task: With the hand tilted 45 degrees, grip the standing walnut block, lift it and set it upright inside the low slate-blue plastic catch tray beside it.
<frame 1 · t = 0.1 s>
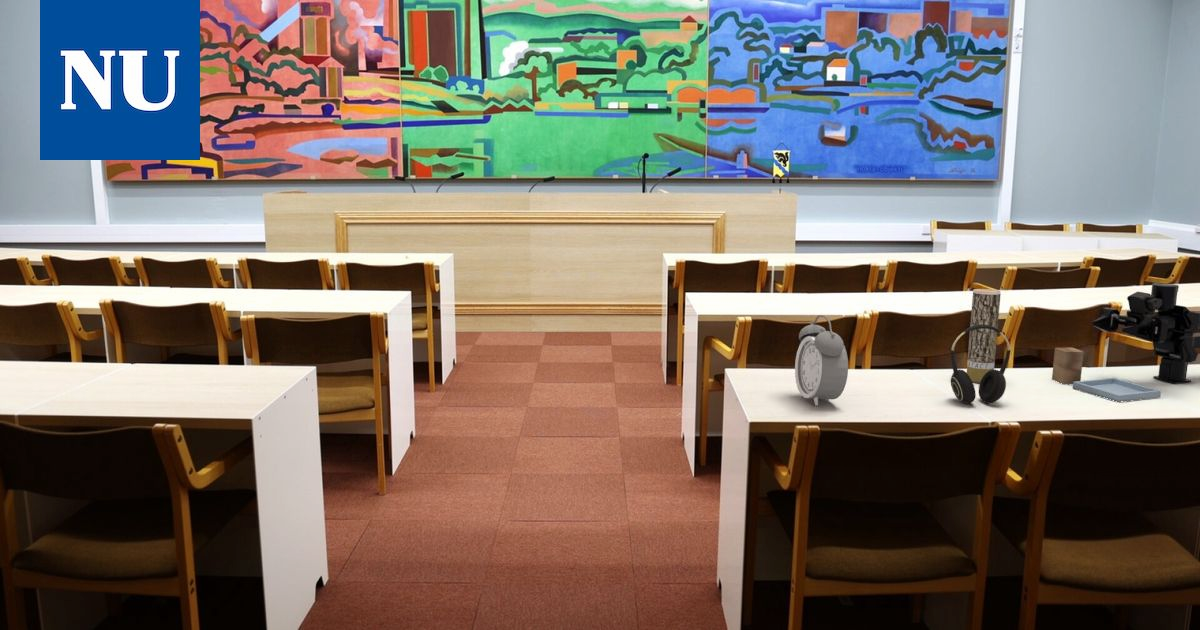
hand: (1107, 326, 229), 17 cm above the table, tool horizontal, fingers open, 9 cm apart
alarm clock: (819, 402, 219), on the table
headphones: (976, 403, 218), on the table
catch tray: (1115, 392, 227), on the table
paper tube: (979, 381, 239), on the table
walnut block: (1065, 381, 238), on the table
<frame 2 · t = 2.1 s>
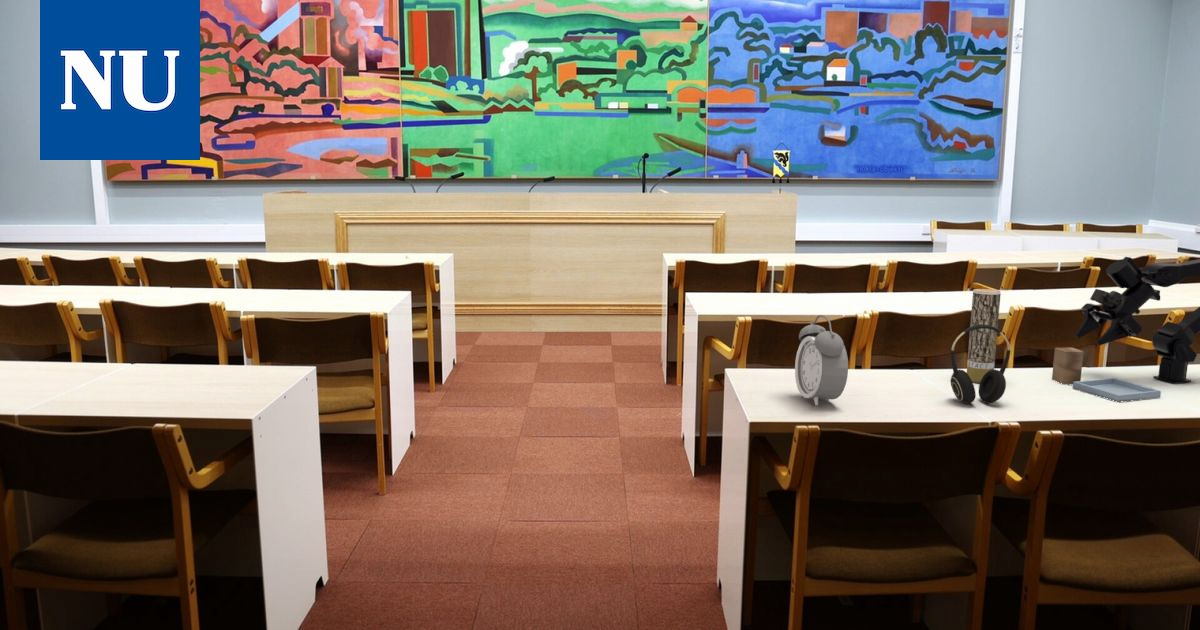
hand: (1087, 340, 237), 11 cm above the table, tool tilted 45°, fingers open, 9 cm apart
nothing on the table moved.
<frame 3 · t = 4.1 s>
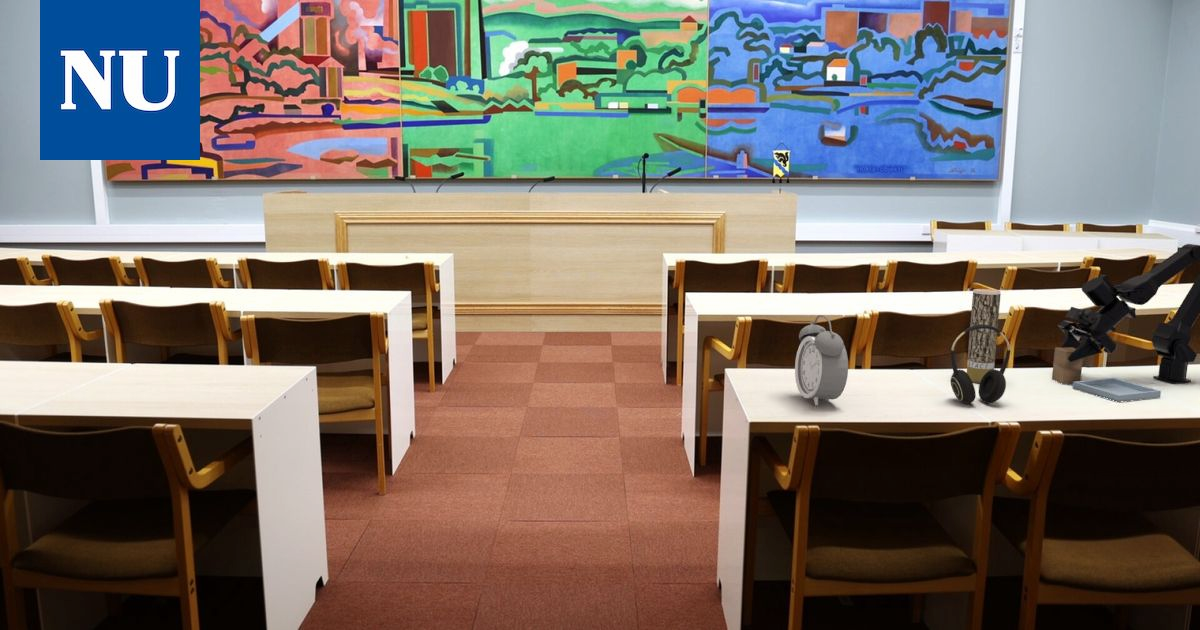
hand: (1063, 358, 237), 7 cm above the table, tool tilted 45°, fingers closed on walnut block, 5 cm apart
walnut block: (1065, 381, 238), on the table, touching gripper
everything else where it was.
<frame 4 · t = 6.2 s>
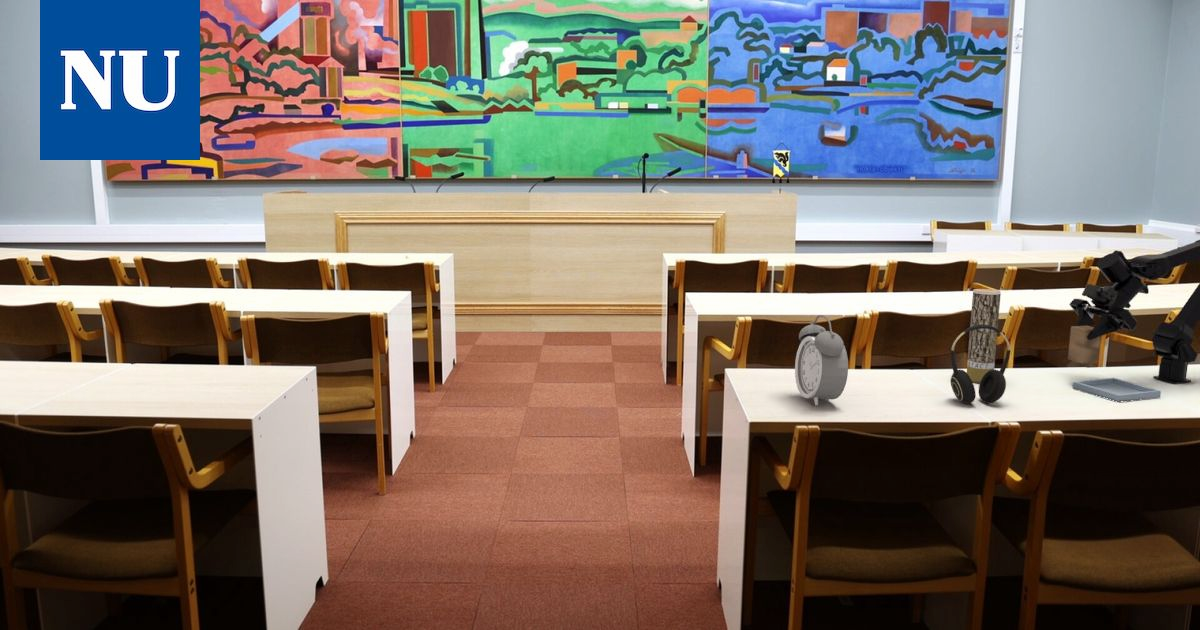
hand: (1080, 336, 232), 13 cm above the table, tool tilted 45°, fingers closed on walnut block, 5 cm apart
walnut block: (1082, 360, 233), point 7 cm above the table, touching gripper
everything else where it was.
when the fingers open (8 cm above the table, at t = 8.6 s): walnut block drops 1 cm, resting on catch tray.
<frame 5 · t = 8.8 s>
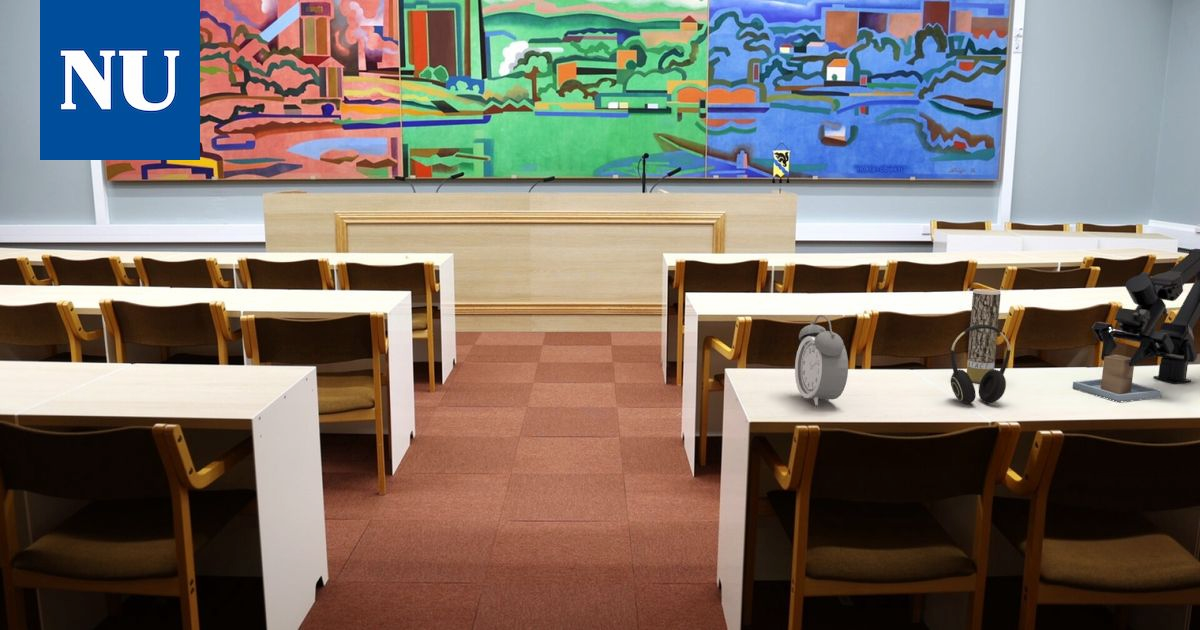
hand: (1115, 362, 225), 8 cm above the table, tool tilted 45°, fingers open, 7 cm apart
walnut block: (1115, 391, 227), resting on catch tray
everything else where it was.
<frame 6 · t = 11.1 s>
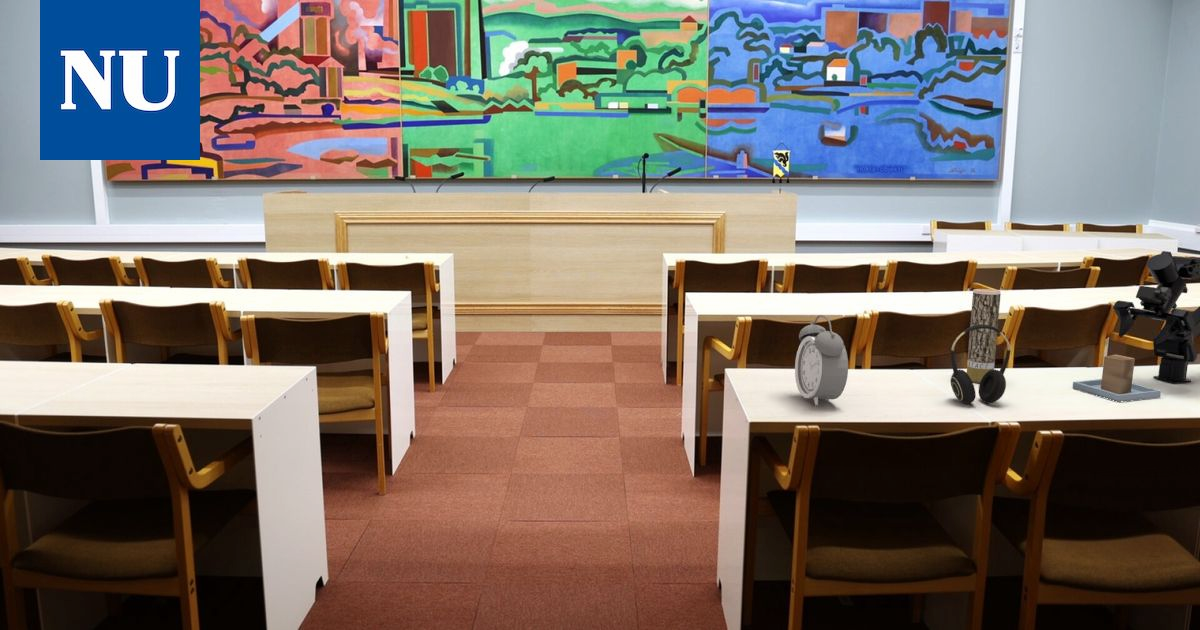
hand: (1137, 339, 228), 13 cm above the table, tool tilted 45°, fingers open, 9 cm apart
nothing on the table moved.
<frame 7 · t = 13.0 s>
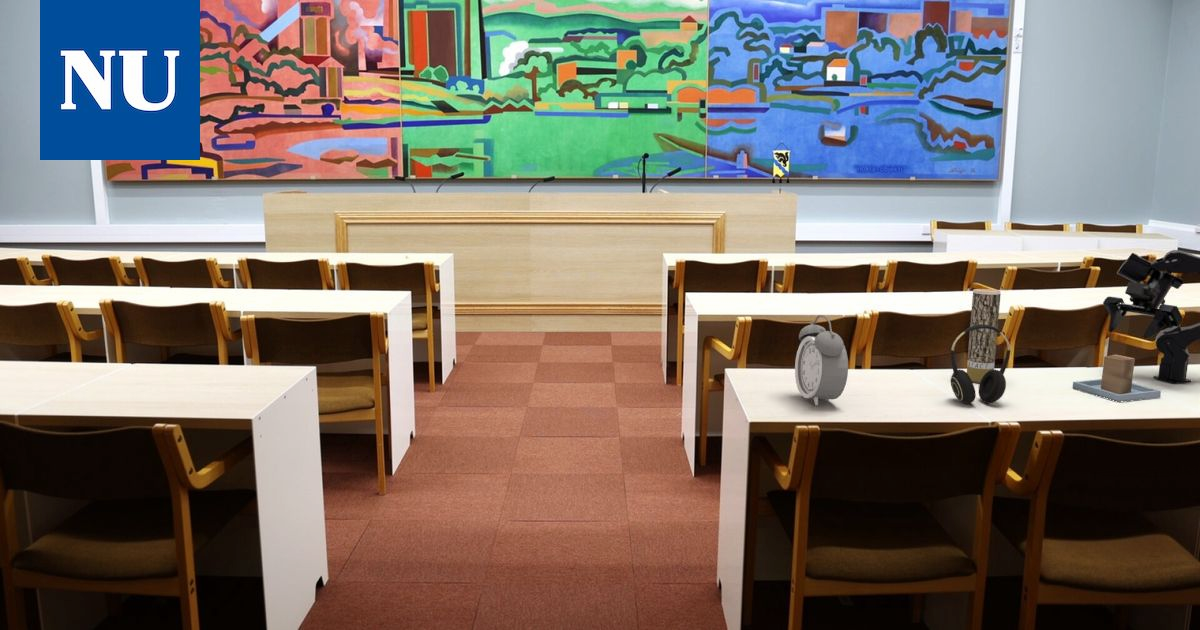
hand: (1126, 334, 234), 14 cm above the table, tool tilted 45°, fingers open, 9 cm apart
nothing on the table moved.
at the end: walnut block inside the target area on the catch tray (0.0 cm from its centre), point 0.5 cm above the catch tray's base; walnut block tilted 0°; the gripper is holding nothing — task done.
